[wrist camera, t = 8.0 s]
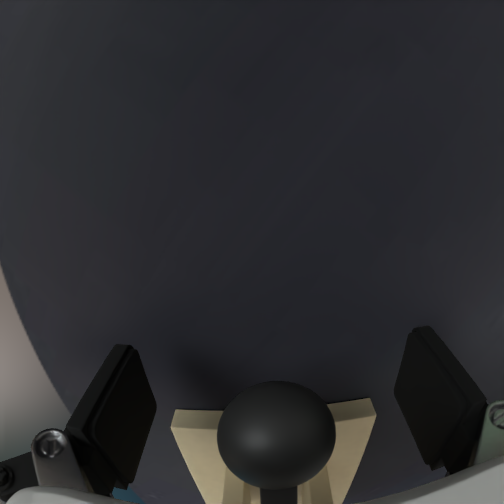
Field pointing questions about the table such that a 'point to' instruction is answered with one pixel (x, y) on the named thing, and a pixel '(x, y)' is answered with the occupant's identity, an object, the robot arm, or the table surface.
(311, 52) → the table surface
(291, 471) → the ball knob handle
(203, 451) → the lever bracket
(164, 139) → the table surface
